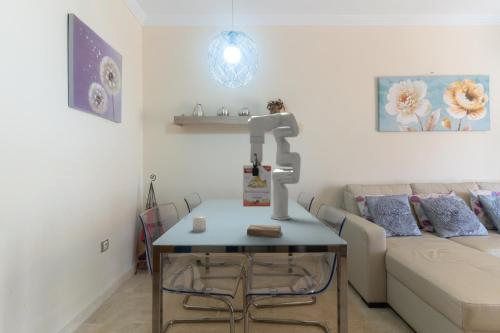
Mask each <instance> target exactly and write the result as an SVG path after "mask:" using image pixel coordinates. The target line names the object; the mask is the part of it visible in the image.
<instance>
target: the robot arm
mask: <svg viewBox="0 0 500 333" xmlns="http://www.w3.org/2000/svg"><path fill="white" fill-rule="evenodd" d="M246 127H247V130H248V132H249V144H250V155H249V156H250V157H249V161H250V163H251V164H252V165H253V166H252V176H259V168H258V165H261V166H262V162H263V155H264V154H263V153H264V152H263V150H264V149H263V145H264V144H265V136H266V135H265V133H269V132H271V131H272V135H273V137H274V140H275V142H276V152H275V164H276V166H278V167H279V168H276V169H274V170H273V171H271V181H272V188H273V190H272V193H273V194H272V195H273V196H272V199H273V200H272V202H273V203H272V215H270V218H271V219H272V220H277V221H279V220H280V221H284V220H285V221H286V220H290V219H291V215H289V189H288V187H287V186H286V185H298V183H299V182H300V178H301V177H300V176H301V164H302V161H301V159H302V158H301V155H300V153H299V152H297V151H296V152H295V151H293V152H292V151H291V144H290V142H289V141H288V140H287V138H297V137H298V136H299V134H300V128H299V127H300V126H299V123H298V121H297V119H296V117H295V115H294V114H293V113H292V112H276V113H275V112H274V113H272V114H267V115H266V114H265V115H261V116H260V115H255V116H251V117H250V118H249V119H248V120H247V123H246ZM280 167H281V168H280Z"/></svg>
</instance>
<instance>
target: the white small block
mask: <svg viewBox="0 0 500 333" xmlns="http://www.w3.org/2000/svg"><path fill="white" fill-rule="evenodd" d="M206 230H207V216H206V215H193V216H192V231H193V232H205V231H206Z"/></svg>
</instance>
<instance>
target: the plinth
mask: <svg viewBox="0 0 500 333" xmlns="http://www.w3.org/2000/svg"><path fill="white" fill-rule="evenodd" d="M281 233H282V226H281V225H271V224H270V225H268V224H250V225H249V226H248V228H247V229H246V236H247V235H249V236H248V237H262V236H263V238H264V237H266V238H268V237H269V238H280V236H281Z"/></svg>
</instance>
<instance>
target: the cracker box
mask: <svg viewBox="0 0 500 333" xmlns="http://www.w3.org/2000/svg"><path fill="white" fill-rule="evenodd" d="M252 166H253V164H252V165H250V164H249V165H243V166H242V168H243V169H242V171H243V172H242V175H243V176H242V207H247V208H248V207H249V208H250V207H271V204H272V203H271V201H272V200H271V198H272V197H271V196H272V192H271V191H272V166H271V165H262V164H261V165H258V168H259V176H252Z"/></svg>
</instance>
